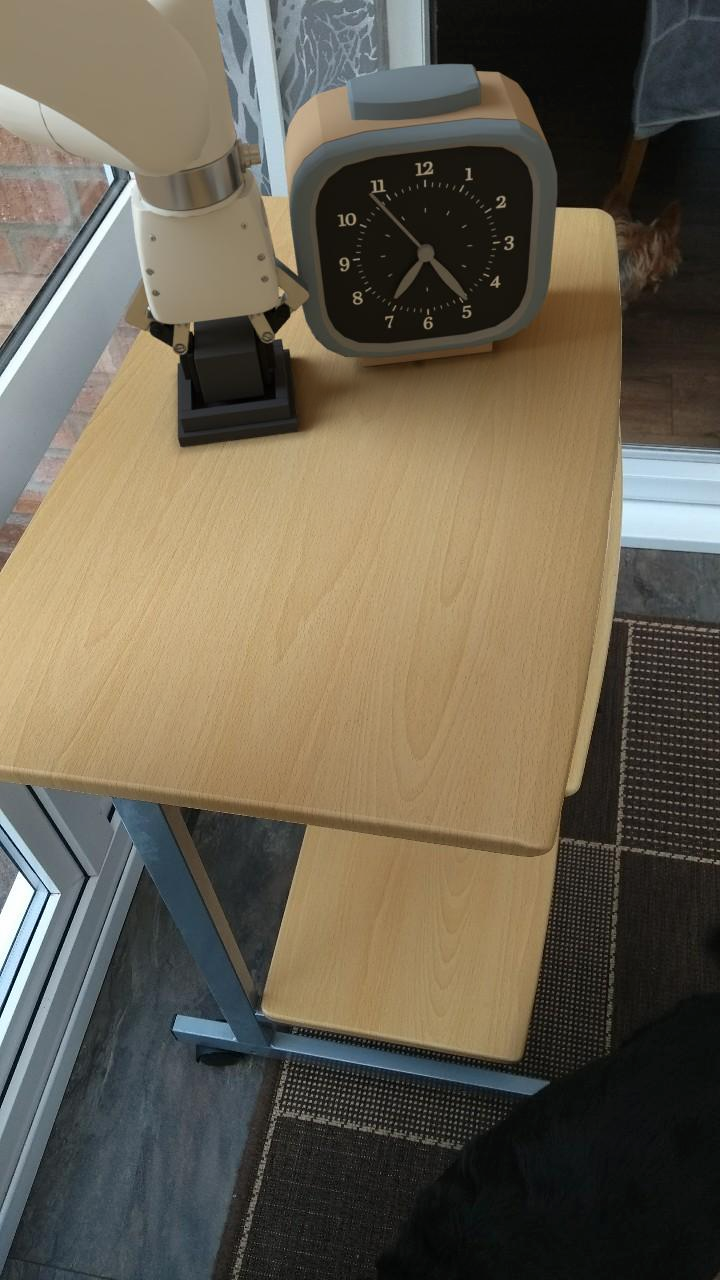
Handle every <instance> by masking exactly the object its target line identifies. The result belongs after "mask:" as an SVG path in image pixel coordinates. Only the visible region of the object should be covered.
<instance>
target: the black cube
mask: <svg viewBox="0 0 720 1280" xmlns="http://www.w3.org/2000/svg"><path fill="white" fill-rule="evenodd" d="M193 335H194V360H195V364H196V368H197V372H198V376H199V380H200V384H201V388H202V392H203V396H204V400H205V403H210V402H218V401H225V400H233V399H240V398H248V397H255V396H263V395H264V383H263V380H262V375H261V369H260V364H259V359H258V353H257V347H256V336H255V329H254V327H253V325H252V323H251V321H250V320H249V318H248V316H247V315H244V316H237V317H229V318H222V319H215V320H207V321H199V322H193Z"/></svg>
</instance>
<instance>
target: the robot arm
mask: <svg viewBox="0 0 720 1280" xmlns="http://www.w3.org/2000/svg"><path fill="white" fill-rule="evenodd" d="M219 33H220V32H219V27H218V21H217V15H216V10H215V4H214V0H0V125H1V126H2V127H3V128H4V129H5V130H6V131H8V132H9V133H10V134H12V135H13V136H15V137H16V138H17V139H20V140H22V141H25V142H26V143H30V144H31V145H35V146H37V147H41V148H45V149H48V150H51V151H55V152H58V153H62V154H64V155H69V156H73V157H76V158H81V159H85V160H89V161H91V162H92V161H93V162H96V163H100V164H103V165H107V166H111V167H113V168H114V167H115V168H117V169H120V170H124V171H125V172H130V173H133V175H134V179H135V184H134V185H133V186H132V188H131V191H130V202H131V203H130V206H131V214H132V225H133V230H134V237H135V245H136V251H137V256H138V262H139V266H140V271H141V279H140V280H139V282H138V284H137V286H136V287H135V289H134V290H133V293H132V294H131V296H130V298H129V300H128V302H127V304H126V305H125V308H124V322H125V323H127V324H129V325H131V326H133V327H135V328H137V329H139V330H142V331H144V332H148V333H149V334H150V335H151V336H152V337H153V338H155V339H157V340H159V341H160V342H162V343H164V344H165V345H167V346H169V347H170V348H171V349H172V351H173V353H174V354H175V355H178V356H179V361H180V360H181V364H182V368H183V372H184V376H185V379H186V380H190V379H193V383H194V386H195V390H196V394H198V393H203V392H202V388H201V384H200V380H199V376H198V372H197V368H196V364H195V360H194V331H191V330H190V329H191V324H192V323H194V322H199V321H207V320H215V319H222V318H229V317H237V316H244V315H247V316H248V318H249V320H250V321H251V323H252V325H253V327H254V329H255V336H256V347H257V353H258V359H259V364H260V369H261V375H262V380H263V383H265V384H271V379H270V369H273V368H277V362H276V355H275V349H274V343H273V341H274V340H276V334H277V333H278V332H279V331H280V330H281V328H282V327H283V326H284V325H285V324H286V323H287V322H288V321H289V320H290V318H291V315H292V314H293V313H294V312H296V311H297V310H298V309H299V308H301V307H302V304H304V303H305V302H306V301H307V300H308V299H309V289H308V285H307V283H306V282H304V281H303V280H302V279H301V278H300V277H299V276H298V274H296V273H295V271H293V270H292V269H291V268H290V267H289V266H287V265H286V264H285V263H284V262H282V261H281V260H280V259H279V258H278V257H276V252H275V248H274V243H273V242H274V241H273V237H272V233H271V228H270V224H269V219H268V215H267V210H266V207H265V204H264V199H263V196H262V194H261V191H260V188H259V185H258V181H257V180H256V177H255V175H254V173H253V171H252V170H251V169H252V166H257V165H262V158H261V151H260V150H261V149H260V144H259V143H252V144H249V143H248V142H243V140H242V138H238V134H237V130H236V126H235V120H234V114H233V109H232V102H231V97H230V91H229V86H228V85H229V84H228V80H227V73H226V67H225V63H224V56H223V50H222V45H221V39H220V34H219ZM250 168H251V169H250ZM279 289H281V290H282V291H283V293H282V295H281V296H280V293H279V292H280V291H279Z"/></svg>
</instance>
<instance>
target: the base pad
mask: <svg viewBox="0 0 720 1280" xmlns="http://www.w3.org/2000/svg"><path fill="white" fill-rule="evenodd" d="M273 343H274V349H275V355H276V362H277V368H273V369H270V379H271V384H265V383H264V395H263V396H255V397H248V398H240V399H233V400H225V401H218V402H210V403H205V400H204V396H203V393H198V394H196V390H195V386H194V383H193V379H190V380H186V379H185V376H184V372H183V368H182V364H181V360H180V359H179V362H178V363H177V364H176V365H177V440H178V443H179V447H181V448H182V447H189V446H199V445H203V444H204V445H205V444H211V443H220V442H226V441H236V440H242V439H250V438H258V437H265V436H266V437H267V436H272V435H273V436H274V435H280V434H287V433H295V432H299V431H300V427H299V419H298V410H297V409H298V408H297V402H296V401H297V400H296V392H295V384H294V376H293V366H292V356H291V352H290V348H284V345H283V339H282V338H275V339H274V341H273Z"/></svg>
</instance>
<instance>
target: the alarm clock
mask: <svg viewBox="0 0 720 1280" xmlns="http://www.w3.org/2000/svg"><path fill="white" fill-rule="evenodd" d="M284 167H285V168H284V169H285V179H286V190H287V201H288V209H289V217H290V218H289V219H290V228H291V236H292V243H293V251H294V257H295V258H294V259H295V266H296V271H297V276H299V277H300V278H301V279H302V280H303V281H304V282H306V283H307V285H308V289H309V299H308V300H307V301H306V302H305V303H304V304H302V305H301V307H302V312H303V315H304V319H305V322H306V324H307V327H308V328H309V330H310V332H311V333H312V336H313V337H314V339H315V340H316V341H317V342H318V343H319V344H321V345H322V346H323V347H324V348H325V349H326V350H328V351H330V352H332V353H334V354H337V355H340V356H342V357H345V358H360V359H361V366H362V367H372V366H373V367H374V366H381V365H389V364H397V363H406V362H414V361H415V362H416V361H422V360H430V359H438V358H439V359H440V358H446V357H447V358H448V357H454V356H455V357H457V356H463V355H473V354H481V353H488V352H493V342H498V341H502V340H506V339H509V338H511V337H513V336H515V335H516V334H517V333H519V332H520V331H523V330H524V329H525V328H526V327H528V326H530V323H531V322H533V320H534V319H535V318H536V317H537V315H538V314H539V313H540V311H541V309H542V307H543V304H544V302H545V300H546V298H547V295H548V291H549V285H550V281H551V273H552V262H553V249H554V238H555V237H554V236H555V225H556V213H557V202H558V201H557V200H558V172H557V169H556V164H555V160H554V158H553V154H552V150H551V149H550V147H549V144H548V142H547V139H546V136H545V134H544V132H543V130H542V127H541V125H540V123H539V120H538V118H537V116H536V113H535V110H534V108H533V106H532V103H531V101H530V98H529V97H528V96H527V94H526V93H525V91H524V90H523V88H522V87H521V85H520V84H519V83H518V82H516V81H515V80H513V79H512V78H510V77H508V76H507V75H504V74H502V73H501V72H499V71H483V70H478V71H477V69H476V67H475V66H474V65H473V64H471V63H470V64H469V63H467V64H466V63H465V64H464V63H442V64H424V65H413V66H412V65H411V66H404V67H398V68H391V69H387V70H381V71H376V72H372V73H368V74H367V73H366V74H363V75H360V76H355V77H353V78H349V79H348V80H347V82H346V85H343V86H340V87H336V88H332V89H330V90H326V91H323V92H319V93H316V94H314V95H313V96H312V97H311V98H310V99H309V100H308V101H306V102H305V103H304V104H303V105H302V106H300V107H299V108H298V109H297V111H296V112H295V114H294V116H293V118H292V120H291V121H290V123H289V125H288V128H287V132H286V139H285V143H284Z"/></svg>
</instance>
